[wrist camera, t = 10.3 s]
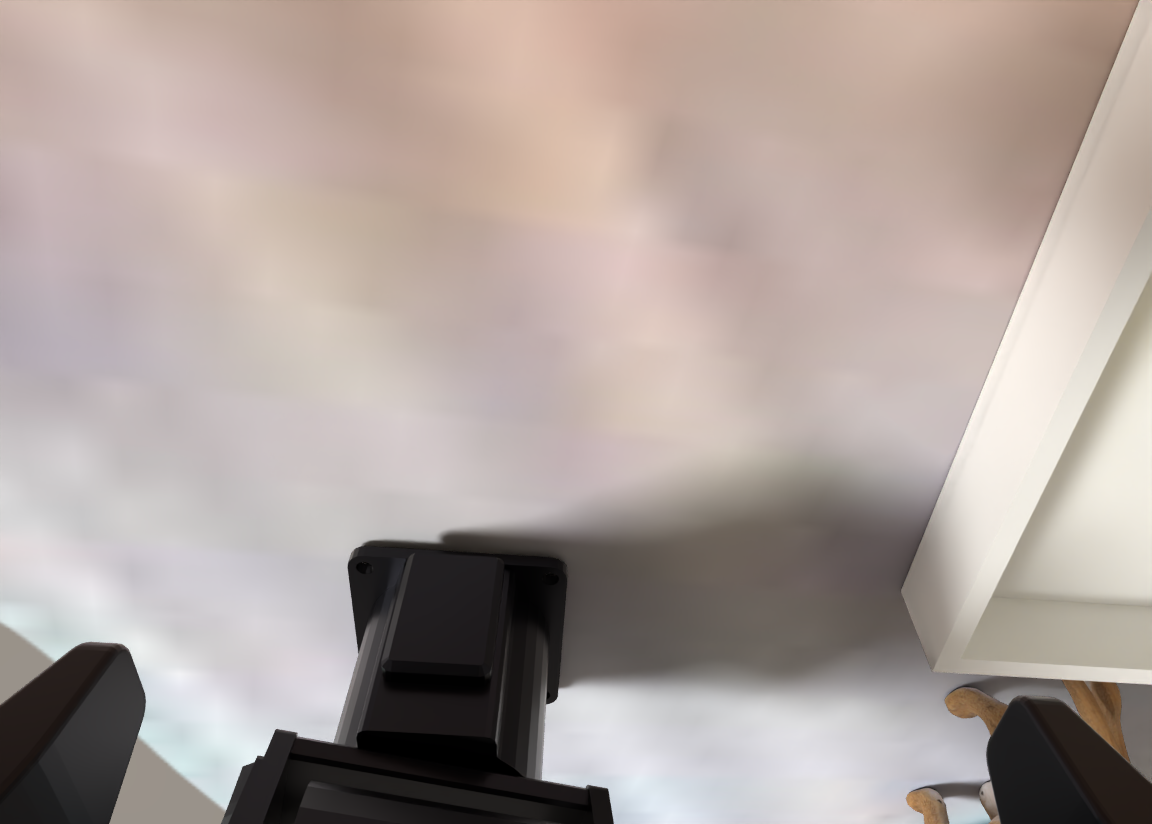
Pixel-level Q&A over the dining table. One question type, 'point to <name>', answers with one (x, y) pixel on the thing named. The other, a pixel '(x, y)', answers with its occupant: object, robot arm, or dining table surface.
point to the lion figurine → (1091, 700)
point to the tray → (1061, 436)
